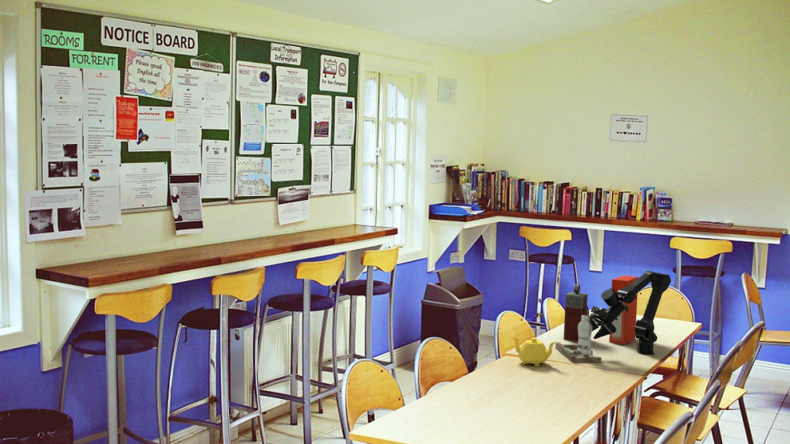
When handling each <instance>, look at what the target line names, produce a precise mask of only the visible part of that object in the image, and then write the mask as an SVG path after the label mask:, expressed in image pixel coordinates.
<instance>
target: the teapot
mask: <svg viewBox="0 0 790 444" xmlns="http://www.w3.org/2000/svg"><path fill="white" fill-rule="evenodd" d="M512 338H514V340H515V342H514V343H515V344H514V345H515V348H514V349H515V351H516V353H517V354H518V355H517V356H518V358H519V360H520V362H522V365H523V364H527V365H528V364H533V365H534V367H536V366H539V367H540V366H541V364H540V363H543V364H544V363H545V362H547V360H548V358H550V356H552V353H553V346H554V344H556V342H557V341H553V342H550V343H549V344H548V345H549V346H548V349H547V347H546V346H545V344H544V342H543V341H541V340H540V339H538V338H536V337H530V339H526V340H525V341H524V342H523V343H522V344H521V345H520V342H519V341H520V340H519V339H518V337H517V336H515V335H512Z"/></svg>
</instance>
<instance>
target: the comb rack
mask: <svg viewBox="0 0 790 444" xmlns="http://www.w3.org/2000/svg"><path fill="white" fill-rule="evenodd" d="M555 342H556V343H554V344H555V350H557V351H558V353H560V354H561V355H562V356H564V358H566V359H568V361H569V362H570V363H602V357H601V356H593V353H594V352H593V350H591V352H592V354H591V357H578V356H577V348H578V343H577V344H573V343H572V344H567V343H565V344H563V343H561V342H558V341H555Z"/></svg>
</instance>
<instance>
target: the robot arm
mask: <svg viewBox="0 0 790 444" xmlns="http://www.w3.org/2000/svg"><path fill="white" fill-rule="evenodd" d="M671 281H672V278H671V275H670V274H667V273H663V272H655V271H651V270H645V271H644V273H643V274H642V275H640V276H638V279H637V280H636V281H635V282H633V283H632V284H631V285H629V286H627V287H623V288H621V289H620V290H618V291H617V292H615V290H614V289H613V288H612V287H609V288H608V289H606V290H604V291H603V292H602V293H601V295H600V296H601V299H602V300H603V301H604V303H605V304H606V305H607V306H608V307H607V308H604V307H602V306H601V307H597V306H595V305H592V307H591V310H589V315H590V320H589V321H590V323H591V324H592V327H593V328H592V332H594V331H595V330H596V331H597V330H598V331H597V332H596V333H595V334H594V335H593V340H597V339H600V338H602V337H603V338H604V337H605V336H608V335H609V336H610V334H611V333H613V334H614V333H615V332H616V329H617V328H616V327H615V326H614V325H613V324H612V322H613V321H614V320H616V321H617V320H618V319H617V317H618V316H619V315H620V314H621V313H622V312H623V311H626V312H628V306H627V305H624V304H623V302H625V303H629V304H630V303H632V302H633V301H634V299H635V298H636V296H637V297H638V295H637V293H638V294H639V292H641V291H642V290H643V289H644V288H646V287H647V286H648V285H649V284H650V286H651V292H650V296H649V299H648V301H647V304H646V307H645V309H644V313H643V316H642V317H641V319H636V325H635V327H634V328H635V330H634V332H635V335H636V337H635V339H637V340H638V341H637V345H636V346H637V347H636V352H638V353H639V354H641V355H655V352H654V343H655V342H657V341H658V335H657V334H656V333H655V323H654V321H655V316H656V314H657V311H658V308H659V306H660V302H661V299H662V296H663V293H664V292H665V291H667V290H668V289H669V288H670V284H671V283H672V282H671ZM590 312H591V313H590Z"/></svg>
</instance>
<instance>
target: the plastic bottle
mask: <svg viewBox="0 0 790 444" xmlns="http://www.w3.org/2000/svg"><path fill="white" fill-rule="evenodd" d="M581 319H582V321H581V322H580V323H579V324H578V334H579V341H578V342H577V344H578V348H577V349H576V351H577V356H576V357H592V356H591V354H592V352H591V351H592V346H591V344H592V333H593V331H592V328H593V327H592V324H591V323H590V321H589V320H590V314H589V315H582V318H581Z"/></svg>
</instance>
